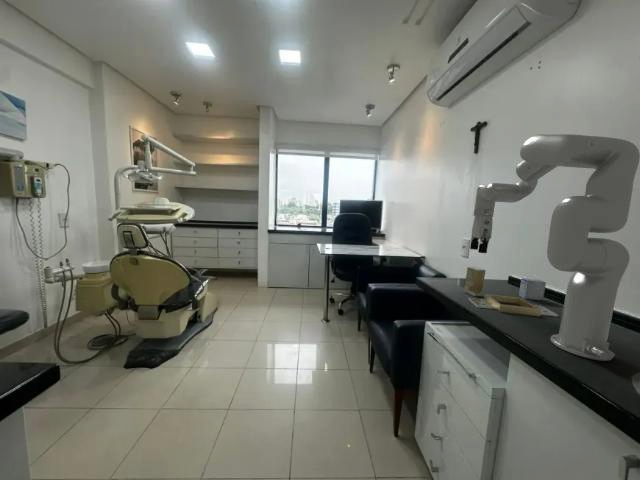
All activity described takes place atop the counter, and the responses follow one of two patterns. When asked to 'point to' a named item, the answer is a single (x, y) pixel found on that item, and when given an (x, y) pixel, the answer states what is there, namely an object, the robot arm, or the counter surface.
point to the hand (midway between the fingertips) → (477, 251)
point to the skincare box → (474, 281)
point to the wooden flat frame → (526, 308)
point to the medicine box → (532, 289)
